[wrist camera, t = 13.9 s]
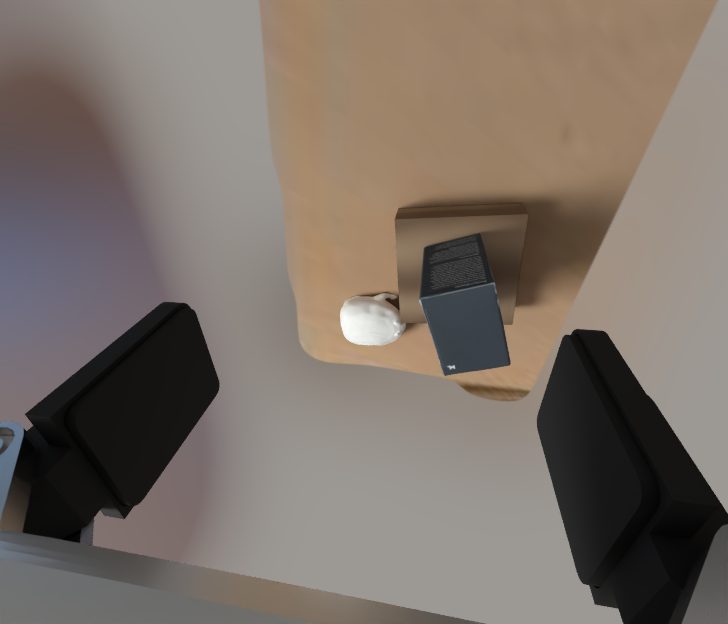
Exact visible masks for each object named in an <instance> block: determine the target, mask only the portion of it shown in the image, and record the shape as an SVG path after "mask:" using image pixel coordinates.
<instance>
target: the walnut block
mask: <svg viewBox="0 0 728 624" xmlns="http://www.w3.org/2000/svg"><path fill="white" fill-rule="evenodd" d="M527 221H528V213H527V211H526V210H525V208H524V207H523V205H522V203H513V204H490V205H468V206H445V207H422V208H400V209H398V211H397V214H396V218H395V230H396V249H397V269H398V288H399V307H400V323H427V321H426V318H425V315H424V312H423V309H422V307H421V304H420V302H419V296H420V286H421V274H422V263H423V250H424V247H427V246H431V245H435V244H439V243H443V242H447V241H451V240H454V239H459V238H463V237H466V236H470V235H474V234H478V233H480V234H481V238H482V241H483V244H484V247H485V251H486V255H487V258H488V262H489V265H490V268H491V272H492V275H493V278H494V282H495V286H496V291H497V296H498V301H499V306H500V311H501V316H502V321H503V325H512V324H513V317H514V310H515V303H516V296H517V290H518V283H519V276H520V269H521V262H522V255H523V248H524V242H525V235H526V228H527Z"/></svg>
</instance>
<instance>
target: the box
mask: <svg viewBox="0 0 728 624" xmlns="http://www.w3.org/2000/svg"><path fill="white" fill-rule="evenodd" d="M419 302H420V304H421V307H422V309H423V312H424V315H425V318H426V321H427V324H428V327H429V330H430V333H431V336H432V339H433V342H434V345H435V349H436V352H437V355H438V359H439V362H440V366H441V369H442V373H443V374H444V375H445V376H447V375H451V374H458V373H464V372H471V371H478V370H485V369H492V368H498V367H503V366H508V365H510V357H509V352H508V347H507V342H506V337H505V331H504V326H503V321H502V316H501V311H500V306H499V301H498V296H497V291H496V286H495V282H494V278H493V275H492V272H491V268H490V265H489V262H488V258H487V255H486V251H485V247H484V244H483V241H482V238H481V234H480V233H478V234H474V235H470V236H466V237H463V238H459V239H454V240H451V241H447V242H443V243H439V244H435V245H431V246H427V247H424V250H423V263H422V274H421V286H420V296H419Z"/></svg>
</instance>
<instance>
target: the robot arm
mask: <svg viewBox="0 0 728 624" xmlns="http://www.w3.org/2000/svg"><path fill="white" fill-rule="evenodd" d="M218 391H219V380H218V377H217V374H216V371H215V368H214V365H213V362H212V359H211V356H210V353H209V350H208V348H207V344H206V341H205V339H204V336H203V333H202V330H201V327H200V324H199V321H198V318H197V315H196V313H195V311H194V310H193V309H191V308H190V306H188V304H185V303H175V302H163V303H161V304H160V305H159V306H157V307H156V308H155V309H154V310H152V311H151V312H150V313H149V314H147V315H146V316H145V317H144V318H143V319H142V320H140V321H139V322H138V323H136V324H135V325H134V326H133V327H131V328H130V329H129V330H128V331H127V332H125V333H124V334H123V335H122V336H120V337H119V338H118V339H117V340H115V341H114V342H113V343H112V344H111V345H109V346H108V347H107V348H106V349H104V350H103V351H102V352H101V353H99V354H98V355H97V356H96V357H95V358H93V359H92V360H91V361H90V362H88V363H87V364H86V365H85V366H84V367H82V368H81V369H80V370H79V371H77V372H76V373H75V374H74V375H72V376H71V377H70V378H69V379H67V380H66V381H65V382H64V383H63V384H61V385H60V386H59V387H58V388H56V389H55V390H54V391H53V392H52V393H50V394H49V395H48V396H47V397H45V398H44V399H43V400H42V401H41V402H39V403H38V404H37V405H36V406H34V407H33V408H32V409H31V410H30V411H28V412H27V413H26V414H25V415H26V416H27V418H28V419H29V420H30V421H31V423H32V424H33V425H34V426H32V427H31V428H30V429H29V430H28V431H26V430H25V429H24V428H23V427H22V426H21V425H20V424H19V423H16V422H12V421H9V422H0V624H484V623H479V622H474V621H469V620H464V619H459V618H454V617H449V616H445V615H440V614H435V613H430V612H425V611H420V610H415V609H410V608H405V607H400V606H395V605H390V604H385V603H380V602H376V601H371V600H365V599H361V598H355V597H351V596H346V595H341V594H336V593H331V592H326V591H321V590H316V589H311V588H306V587H301V586H296V585H291V584H286V583H281V582H276V581H271V580H266V579H261V578H256V577H251V576H246V575H240V574H236V573H231V572H225V571H220V570H215V569H210V568H205V567H200V566H195V565H190V564H185V563H180V562H174V561H170V560H164V559H159V558H154V557H148V556H144V555H138V554H133V553H128V552H122V551H117V550H112V549H107V548H102V547H96V546H93V529H94V517H95V516H96V514H97V513H98V512H99V511H100V510H101V512H102V513H103V514H104V515H105V516H110V517H116V518H121V519H125V518H126V516H127V515H128V514H129V512H130V511H131V509H132V508H133V507H134V506H135V505H138V504H139V503H140V502H141V501H142V500H143V499H144V498H145V496H146V495H147V493H148V492H149V490H150V489H151V488H152V486H153V485H154V483H155V482H156V480H157V479H158V478H159V476H160V475H161V473H162V472H163V471H164V469H165V468H166V466H167V465H168V463H169V462H170V461H171V459H172V458H173V456H174V455H175V453H176V452H177V451H178V449H179V448H180V446H181V445H182V443H183V442H184V441H185V439H186V438H187V436H188V435H189V433H190V432H191V431H192V429H193V428H194V426H195V425H196V424H197V422H198V421H199V419H200V418H201V416H202V415H203V413H204V412H205V411H206V409H207V408H208V406H209V405H210V404H211V402H212V401H213V399H214V398H215V396H216V395H217V393H218ZM537 428H538V433H539V436H540V440H541V444H542V447H543V451H544V454H545V458H546V462H547V465H548V469H549V472H550V476H551V479H552V483H553V487H554V491H555V494H556V498H557V501H558V505H559V509H560V512H561V516H562V520H563V523H564V527H565V530H566V534H567V537H568V541H569V544H570V548H571V552H572V555H573V559H574V563H575V567H576V570H577V573H578V576H579V578H580V580H581V582H582V583H583V584H586V585H589V586H590V589H591V593H592V596H593V599H594V603H595V604H596V605H601V606H607V607H613V608H618V609H619V612H620V615H621V618H622V621H623V623H624V624H728V513H727V512H726V511H725V509H724V507H723V506H722V504H721V503H720V501H719V500H718V498H717V497H716V495H715V494H714V492H713V491H712V489H711V488H710V486H709V485H708V483H707V482H706V480H705V478H704V477H703V475H702V474H701V472H700V471H699V469H698V468H697V466H696V465H695V463H694V462H693V460H692V459H691V457H690V456H689V454H688V453H687V451H686V450H685V449H684V447H683V445H682V444H681V442H680V441H679V439H678V437H677V436H676V434H675V433H674V431H673V430H672V428H671V427H670V425H669V424H668V422H667V421H666V419H665V418H664V416H663V415H662V413H661V412H660V410H659V409H658V407H657V406H656V404H655V402H654V401H653V400H652V399H651V398H650V397H649V396H648V395H647V394H646V393H645V391H644V390H643V388H642V387H641V385H640V384H639V382H638V380H637V379H636V377H635V376H634V374H633V373H632V371H631V370H630V368H629V367H628V365H627V364H626V362H625V361H624V359H623V358H622V356H621V354H620V353H619V351H618V350H617V348H616V347H615V345H614V344H613V342H612V341H611V339H610V338H609V336H608V334H607V333H606V332H604V331H598V330H582V329H576V330H574V331H573V332H572V334H571V335H565V336H564V337H563V339H562V341H561V344H560V347H559V350H558V353H557V357H556V360H555V363H554V366H553V369H552V372H551V375H550V378H549V382H548V384H547V388H546V391H545V394H544V397H543V400H542V403H541V406H540V409H539V412H538V417H537Z"/></svg>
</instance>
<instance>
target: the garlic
mask: <svg viewBox="0 0 728 624" xmlns="http://www.w3.org/2000/svg"><path fill="white" fill-rule="evenodd" d="M386 298H390V299H391V300H393V299H396V298H397V296H395V295H392V294H388V293H382V294H379V295H377V296H374V297H368V296H364V297H362V296H354V297H352V298H350V299H348V300H346V301H345V303H344V306H343V307H342V309H341V312H340V319H341V327H342V330H343V333H344V336H345V337H346V339H347V340H348V341H350V342H352V343H355V344H360V345H379V346H381V345H386V344H388V343H390V342H393V341H396V340H397V339H398V338H399V337H400V335H401V334H402V333H403V331H404V330H405V327H406V323H400V311H399V310H398V309H397V308H396V307H394V306H393V305H392V304H391V303H389V302H387V301H386V300H385V299H386Z"/></svg>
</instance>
